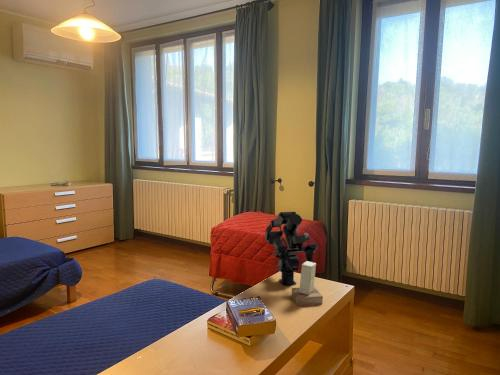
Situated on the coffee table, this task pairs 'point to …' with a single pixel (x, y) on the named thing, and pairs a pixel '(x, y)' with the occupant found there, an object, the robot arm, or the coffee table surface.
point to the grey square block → (307, 297)
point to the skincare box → (307, 277)
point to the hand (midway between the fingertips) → (301, 268)
